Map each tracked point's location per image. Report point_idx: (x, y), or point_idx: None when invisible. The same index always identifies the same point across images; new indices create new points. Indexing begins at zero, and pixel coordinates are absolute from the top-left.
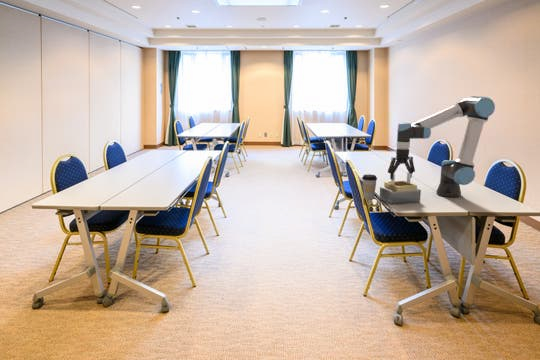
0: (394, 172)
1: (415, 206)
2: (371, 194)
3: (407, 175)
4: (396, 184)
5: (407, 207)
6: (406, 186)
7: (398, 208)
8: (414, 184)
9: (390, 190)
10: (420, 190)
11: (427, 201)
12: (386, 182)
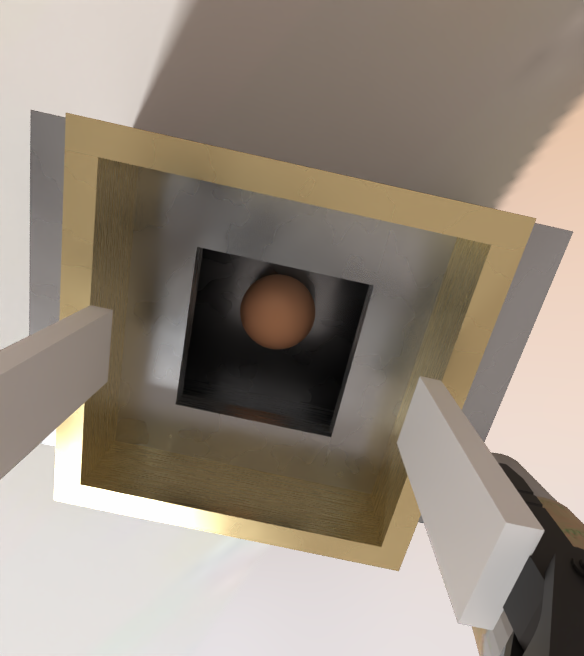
0: (560, 588)
1: (304, 22)
2: (528, 485)
3: (14, 452)
4: (213, 477)
5: (423, 37)
6: (320, 170)
7: (549, 59)
8: (67, 201)
9: (506, 322)
10: (46, 114)
11: (20, 126)
12: (401, 537)
